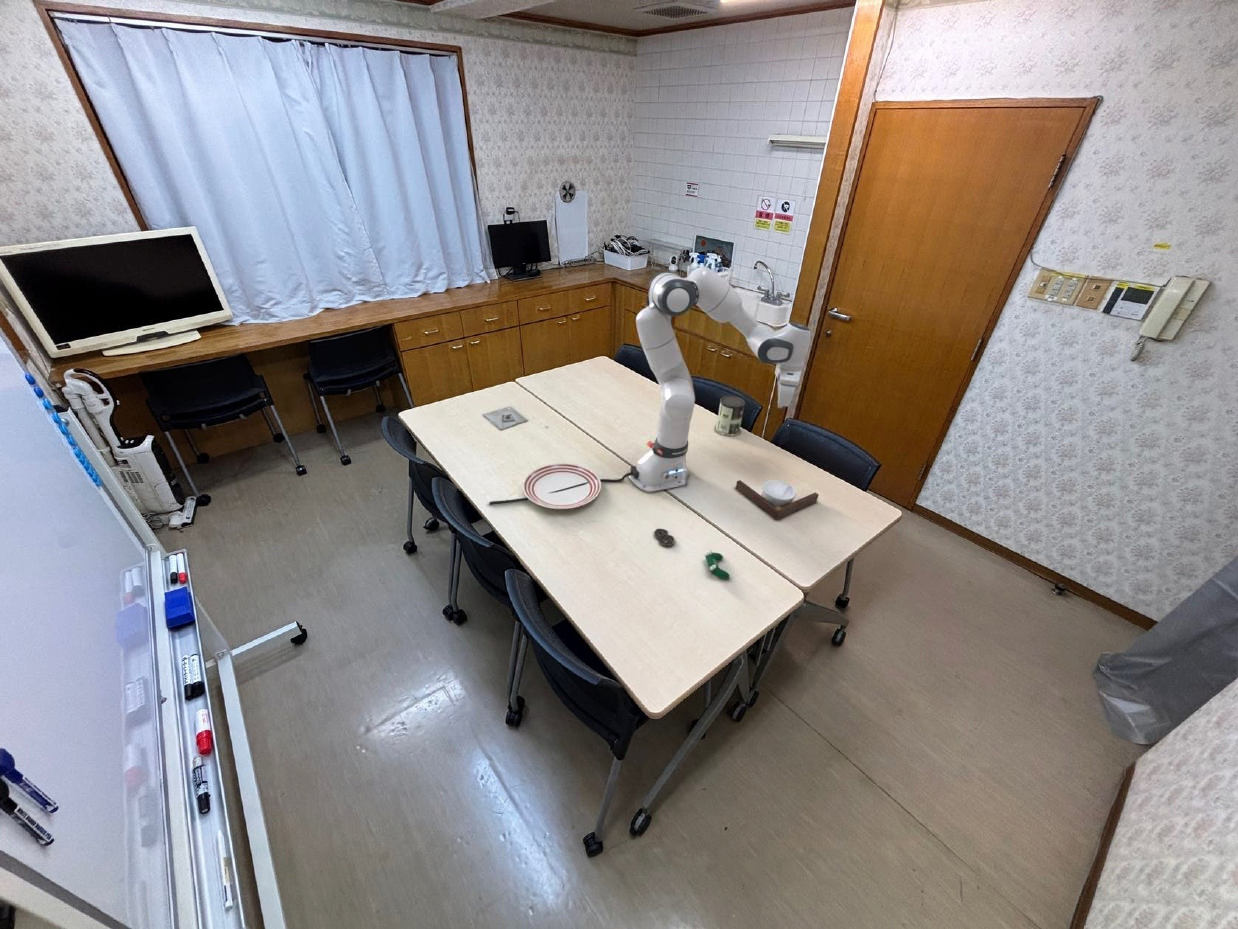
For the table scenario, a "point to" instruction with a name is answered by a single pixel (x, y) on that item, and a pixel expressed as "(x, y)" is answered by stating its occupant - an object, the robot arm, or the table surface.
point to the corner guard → (769, 507)
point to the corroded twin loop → (664, 537)
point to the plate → (561, 486)
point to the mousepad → (505, 418)
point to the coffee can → (730, 415)
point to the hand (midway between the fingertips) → (779, 406)
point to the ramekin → (778, 492)
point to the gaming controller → (715, 564)
